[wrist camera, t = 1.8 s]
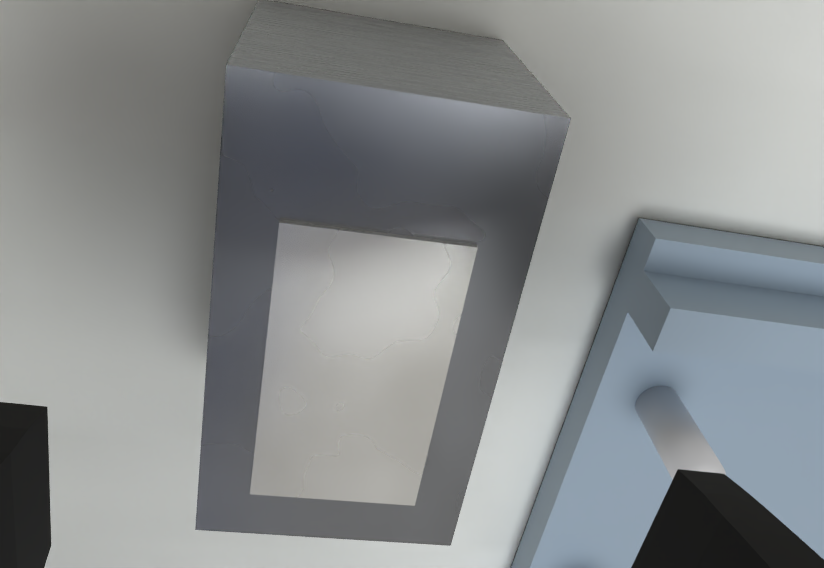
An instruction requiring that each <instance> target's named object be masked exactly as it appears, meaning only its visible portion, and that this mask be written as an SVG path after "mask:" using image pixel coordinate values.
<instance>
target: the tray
mask: <svg viewBox="0 0 824 568" xmlns="http://www.w3.org/2000/svg"><path fill="white" fill-rule="evenodd" d="M678 469H681V470H692V471H702V472H712V473H722V474H725V475H726V476H728V477H729V478H730V479H731V480H733V481H734V482H735V483H736V484H738V485H739V486H740V487H741V488H743V489H744V490H745V491H746V492H747V493H749V494H750V495H751V496H752V497H753V498H755V499H756V500H757V501H758V502H759V503H760V504H762V505H763V506H764V507H765V508H766V509H767V510H769V511H770V512H771V513H772V514H773V515H774V516H775V517H777V518H778V519H779V520H780V521H781V522H782V523H783V524H784V525H786V526H787V527H788V528H789V529H790V530H791V531H792V532H793V533H795V534H796V535H797V536H798V537H799V538H800V539H801V540H802V541H804V542H805V543H806V544H807V545H808V546H809V547H810V548H811V549H812V550H814V551H815V552H816V553H817V554H818V555H819V556H820V557H821V558H823V559H824V247H821V246H815V245H808V244H802V243H796V242H789V241H783V240H776V239H770V238H764V237H757V236H751V235H744V234H738V233H732V232H725V231H719V230H712V229H706V228H699V227H693V226H687V225H680V224H674V223H667V222H661V221H655V220H648V219H642V218H639V220H638V222H637V225H636V228H635V231H634V233H633V236H632V239H631V241H630V244H629V247H628V250H627V252H626V255H625V258H624V261H623V263H622V266H621V269H620V272H619V274H618V277H617V280H616V282H615V285H614V288H613V291H612V293H611V296H610V299H609V302H608V304H607V307H606V310H605V312H604V315H603V318H602V321H601V323H600V326H599V329H598V332H597V334H596V337H595V340H594V343H593V345H592V348H591V351H590V353H589V356H588V359H587V362H586V364H585V367H584V370H583V373H582V375H581V378H580V381H579V383H578V386H577V389H576V392H575V394H574V397H573V400H572V403H571V405H570V408H569V411H568V414H567V416H566V419H565V422H564V424H563V427H562V430H561V433H560V435H559V438H558V441H557V444H556V446H555V449H554V452H553V454H552V457H551V460H550V463H549V465H548V468H547V471H546V474H545V476H544V479H543V482H542V485H541V487H540V490H539V493H538V495H537V498H536V501H535V504H534V506H533V509H532V512H531V515H530V517H529V520H528V523H527V525H526V528H525V531H524V534H523V536H522V539H521V542H520V545H519V547H518V550H517V553H516V556H515V558H514V561H513V564H512V566H511V568H631V567H632V565H633V563H634V561H635V559H636V556H637V554H638V552H639V550H640V548H641V546H642V544H643V542H644V540H645V537H646V535H647V533H648V531H649V529H650V527H651V525H652V523H653V520H654V518H655V516H656V514H657V512H658V510H659V508H660V506H661V504H662V501H663V499H664V497H665V495H666V493H667V491H668V489H669V487H670V484H671V482H672V480H673V478H674V476H675V474H676V472H677V470H678Z"/></svg>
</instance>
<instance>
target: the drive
mask: <svg viewBox="0 0 824 568" xmlns="http://www.w3.org/2000/svg"><path fill="white" fill-rule="evenodd" d="M570 120H571V118H570V117H569V116H568V115H567V113H566V112H565V111H564V110H563V109H562V108H561V107H560V105H559V104H558V103H557V102H556V101H555V100H554V99H553V97H552V96H551V95H550V94H549V93H548V92H547V90H546V89H545V88H544V87H543V86H542V85H541V84H540V82H539V81H538V80H537V79H536V78H535V77H534V76H533V74H532V73H531V72H530V71H529V70H528V69H527V68H526V66H525V65H524V64H523V63H522V62H521V61H520V60H519V58H518V57H517V56H516V55H515V54H514V53H513V51H512V50H511V49H510V48H509V47H508V46H507V45H506V43H505V42H504V41H503V40H499V39H493V38H487V37H481V36H475V35H470V34H464V33H458V32H452V31H446V30H440V29H434V28H429V27H423V26H417V25H411V24H405V23H399V22H393V21H388V20H382V19H376V18H370V17H364V16H358V15H352V14H347V13H341V12H335V11H329V10H323V9H317V8H311V7H306V6H300V5H294V4H288V3H282V2H276V1H270V0H259V1H258V3H257V5H256V7H255V9H254V11H253V13H252V15H251V17H250V19H249V21H248V23H247V25H246V27H245V29H244V30H243V32H242V34H241V36H240V38H239V40H238V42H237V44H236V46H235V48H234V50H233V52H232V54H231V56H230V58H229V60H228V62H227V64H226V77H225V92H224V107H223V122H222V137H221V152H220V167H219V183H218V198H217V213H216V228H215V243H214V258H213V273H212V288H211V303H210V318H209V333H208V348H207V363H206V378H205V393H204V408H203V423H202V438H201V454H200V469H199V484H198V499H197V514H196V529H195V530H209V531H225V532H241V533H257V534H273V535H289V536H305V537H321V538H337V539H353V540H369V541H385V542H401V543H417V544H433V545H449V546H450V545H451V542H452V538H453V535H454V531H455V528H456V524H457V521H458V517H459V514H460V510H461V506H462V503H463V499H464V496H465V492H466V489H467V485H468V482H469V478H470V475H471V471H472V467H473V464H474V460H475V457H476V453H477V450H478V446H479V443H480V439H481V436H482V432H483V428H484V425H485V421H486V418H487V414H488V411H489V407H490V404H491V400H492V396H493V393H494V389H495V386H496V382H497V379H498V375H499V372H500V368H501V365H502V361H503V357H504V354H505V350H506V347H507V343H508V340H509V336H510V333H511V329H512V326H513V322H514V318H515V315H516V311H517V308H518V304H519V301H520V297H521V294H522V290H523V287H524V283H525V279H526V276H527V272H528V269H529V265H530V262H531V258H532V255H533V251H534V247H535V244H536V240H537V237H538V233H539V230H540V226H541V223H542V219H543V216H544V212H545V208H546V205H547V201H548V198H549V194H550V191H551V187H552V184H553V180H554V177H555V173H556V169H557V166H558V162H559V159H560V155H561V152H562V148H563V145H564V141H565V138H566V134H567V130H568V127H569V123H570Z"/></svg>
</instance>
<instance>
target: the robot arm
mask: <svg viewBox="0 0 824 568" xmlns="http://www.w3.org/2000/svg"><path fill="white" fill-rule="evenodd" d="M50 547H51V524H50V488H49V452H48V416H47V407H44V406H34V405H24V404H14V403H4V402H0V568H44V566H45V563H46V560H47V557H48V553H49V550H50ZM631 568H824V559H823V558H821V557H820V556H819V555H818V554H817V553H816V552H815V551H814V550H812V549H811V548H810V547H809V546H808V545H807V544H806V543H805V542H804V541H802V540H801V539H800V538H799V537H798V536H797V535H796V534H795V533H793V532H792V531H791V530H790V529H789V528H788V527H787V526H786V525H784V524H783V523H782V522H781V521H780V520H779V519H778V518H777V517H775V516H774V515H773V514H772V513H771V512H770V511H769V510H767V509H766V508H765V507H764V506H763V505H762V504H760V503H759V502H758V501H757V500H756V499H755V498H753V497H752V496H751V495H750V494H749V493H747V492H746V491H745V490H744V489H743V488H741V487H740V486H739V485H738V484H736V483H735V482H734V481H733V480H731V479H730V478H729V477H728V476H726V475H725V474H722V473H712V472H702V471H692V470H681V469H678V470H677V472H676V474H675V476H674V478H673V480H672V482H671V484H670V487H669V489H668V491H667V493H666V495H665V497H664V499H663V501H662V504H661V506H660V508H659V510H658V512H657V514H656V516H655V518H654V520H653V523H652V525H651V527H650V529H649V531H648V533H647V535H646V537H645V540H644V542H643V544H642V546H641V548H640V550H639V552H638V554H637V556H636V559H635V561H634V563H633V565H632V567H631Z"/></svg>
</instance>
